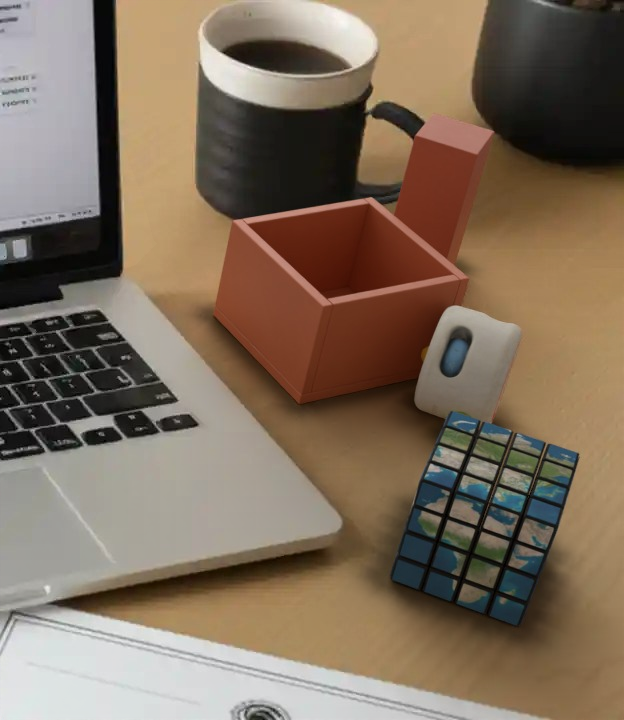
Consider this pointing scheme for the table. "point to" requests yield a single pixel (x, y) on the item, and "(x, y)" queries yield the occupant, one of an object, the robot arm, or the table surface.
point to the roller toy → (467, 365)
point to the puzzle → (501, 522)
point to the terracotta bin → (334, 296)
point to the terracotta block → (443, 181)
